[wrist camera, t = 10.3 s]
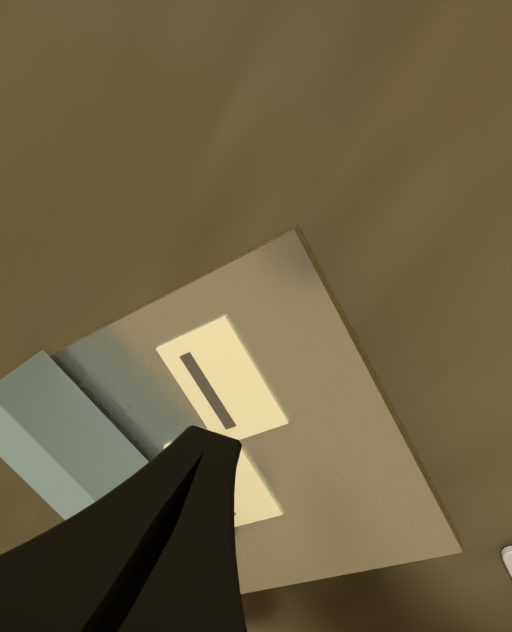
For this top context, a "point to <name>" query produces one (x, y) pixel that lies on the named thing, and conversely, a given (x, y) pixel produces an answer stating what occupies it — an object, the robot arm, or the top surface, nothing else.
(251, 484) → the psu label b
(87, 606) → the robot arm
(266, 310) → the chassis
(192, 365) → the power supply label
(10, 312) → the top surface
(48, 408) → the swing arm
